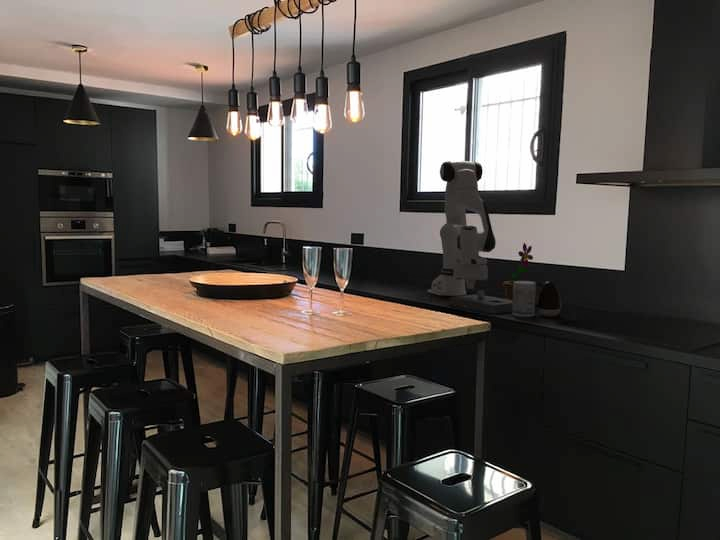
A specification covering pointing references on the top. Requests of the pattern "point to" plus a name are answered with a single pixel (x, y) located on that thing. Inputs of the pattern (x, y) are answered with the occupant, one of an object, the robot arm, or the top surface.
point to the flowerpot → (509, 284)
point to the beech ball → (480, 294)
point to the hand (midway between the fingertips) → (470, 288)
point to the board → (483, 303)
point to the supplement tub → (524, 298)
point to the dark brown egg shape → (549, 299)
